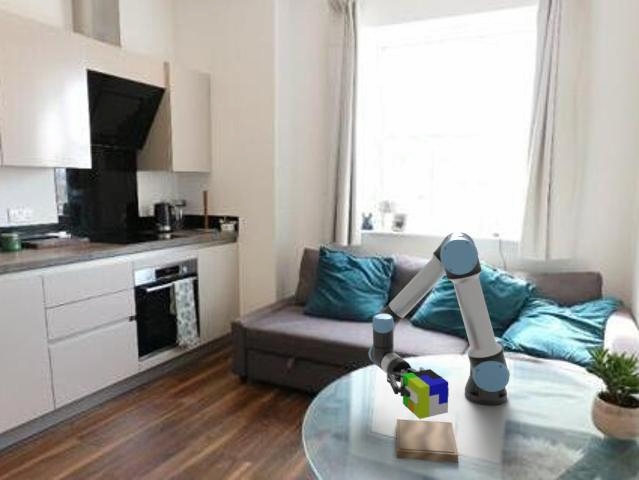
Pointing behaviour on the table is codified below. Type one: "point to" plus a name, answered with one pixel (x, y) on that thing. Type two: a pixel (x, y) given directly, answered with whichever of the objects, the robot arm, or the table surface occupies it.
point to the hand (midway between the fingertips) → (432, 396)
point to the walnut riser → (426, 441)
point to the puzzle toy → (426, 393)
